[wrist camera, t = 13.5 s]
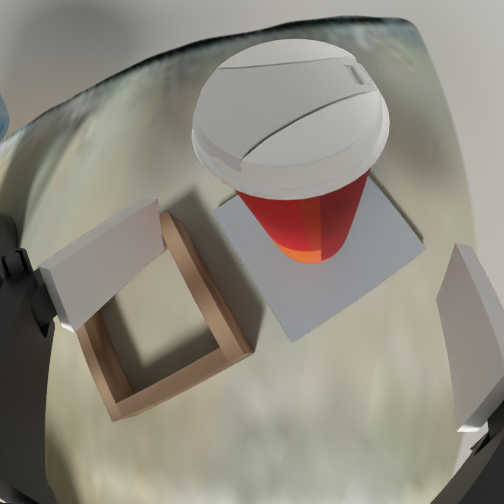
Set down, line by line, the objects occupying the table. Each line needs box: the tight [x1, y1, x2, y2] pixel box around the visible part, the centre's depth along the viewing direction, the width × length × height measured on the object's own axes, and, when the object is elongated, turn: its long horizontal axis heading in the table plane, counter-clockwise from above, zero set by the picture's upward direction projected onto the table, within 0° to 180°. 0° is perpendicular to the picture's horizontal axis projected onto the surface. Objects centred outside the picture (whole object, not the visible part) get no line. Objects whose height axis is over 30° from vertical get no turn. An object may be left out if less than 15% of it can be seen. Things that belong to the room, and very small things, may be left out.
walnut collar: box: [76, 211, 254, 422], centre depth 23 cm, size 12×12×3 cm
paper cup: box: [192, 39, 390, 263], centre depth 16 cm, size 8×8×14 cm
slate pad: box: [212, 176, 425, 342], centre depth 23 cm, size 12×12×1 cm
